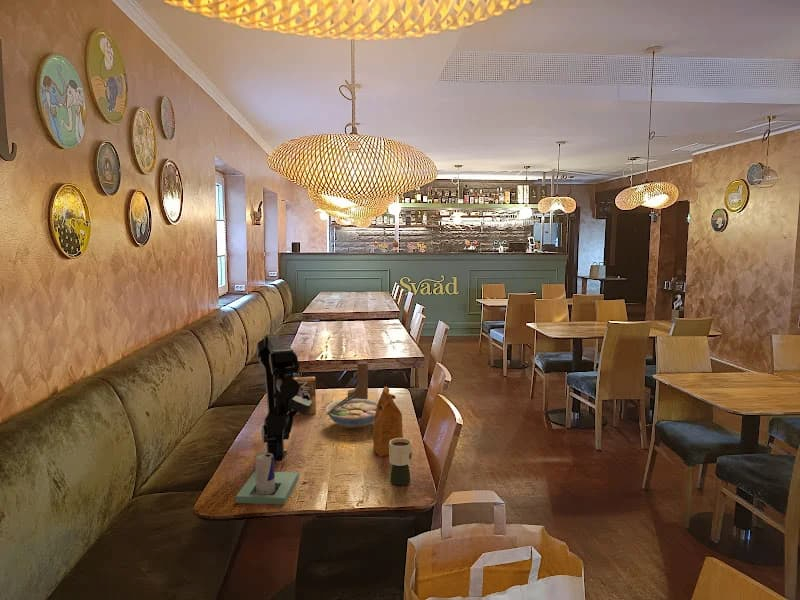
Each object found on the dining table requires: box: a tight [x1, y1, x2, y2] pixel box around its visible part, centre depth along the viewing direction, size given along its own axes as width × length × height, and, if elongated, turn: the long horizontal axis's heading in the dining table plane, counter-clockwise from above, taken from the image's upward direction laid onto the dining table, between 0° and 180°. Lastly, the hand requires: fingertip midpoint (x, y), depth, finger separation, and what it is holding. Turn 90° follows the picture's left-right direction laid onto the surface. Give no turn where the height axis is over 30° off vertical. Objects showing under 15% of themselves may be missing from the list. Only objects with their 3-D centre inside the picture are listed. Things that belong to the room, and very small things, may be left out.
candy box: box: [294, 376, 317, 416], centre depth 228 cm, size 9×4×15 cm, turn 99°
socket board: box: [235, 470, 299, 505], centre depth 161 cm, size 16×14×2 cm
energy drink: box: [255, 452, 276, 495], centre depth 158 cm, size 5×5×12 cm
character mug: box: [388, 437, 413, 485], centre depth 166 cm, size 11×7×13 cm, turn 10°
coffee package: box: [372, 385, 404, 457], centre depth 189 cm, size 10×12×22 cm
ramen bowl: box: [325, 394, 378, 430], centre depth 214 cm, size 25×23×8 cm
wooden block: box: [347, 361, 369, 400], centre depth 243 cm, size 9×4×18 cm, turn 96°
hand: (284, 438), depth 167 cm, fingers open, 9 cm apart
